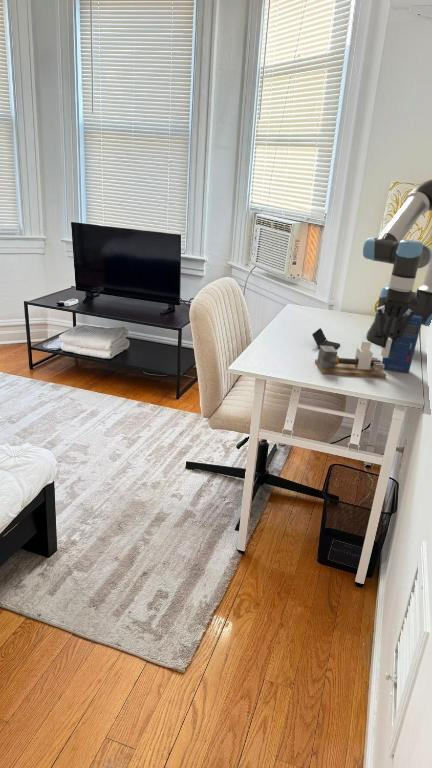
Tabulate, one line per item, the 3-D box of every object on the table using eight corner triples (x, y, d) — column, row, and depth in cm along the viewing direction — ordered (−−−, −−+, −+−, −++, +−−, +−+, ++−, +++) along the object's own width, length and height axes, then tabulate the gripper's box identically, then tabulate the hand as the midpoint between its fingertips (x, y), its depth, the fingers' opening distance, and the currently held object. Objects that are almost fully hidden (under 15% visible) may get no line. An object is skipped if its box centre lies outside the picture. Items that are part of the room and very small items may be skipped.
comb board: (374, 366, 189) (378, 347, 186) (385, 378, 179) (390, 358, 176) (314, 362, 187) (318, 343, 184) (322, 373, 177) (326, 353, 174)
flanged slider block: (364, 364, 185) (370, 339, 182) (369, 369, 181) (374, 344, 177) (353, 364, 185) (358, 339, 181) (357, 369, 180) (363, 343, 177)
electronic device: (381, 369, 187) (394, 314, 179) (380, 364, 192) (393, 311, 184) (408, 374, 185) (423, 319, 177) (407, 369, 190) (421, 315, 182)
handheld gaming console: (339, 349, 198) (327, 326, 198) (322, 358, 201) (309, 334, 200) (341, 345, 209) (329, 323, 209) (324, 353, 212) (313, 331, 211)
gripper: (414, 288, 177) (398, 354, 186) (377, 284, 175) (362, 351, 184) (424, 293, 170) (406, 361, 179) (385, 290, 168) (369, 358, 178)
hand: (384, 356), depth 182 cm, fingers closed
